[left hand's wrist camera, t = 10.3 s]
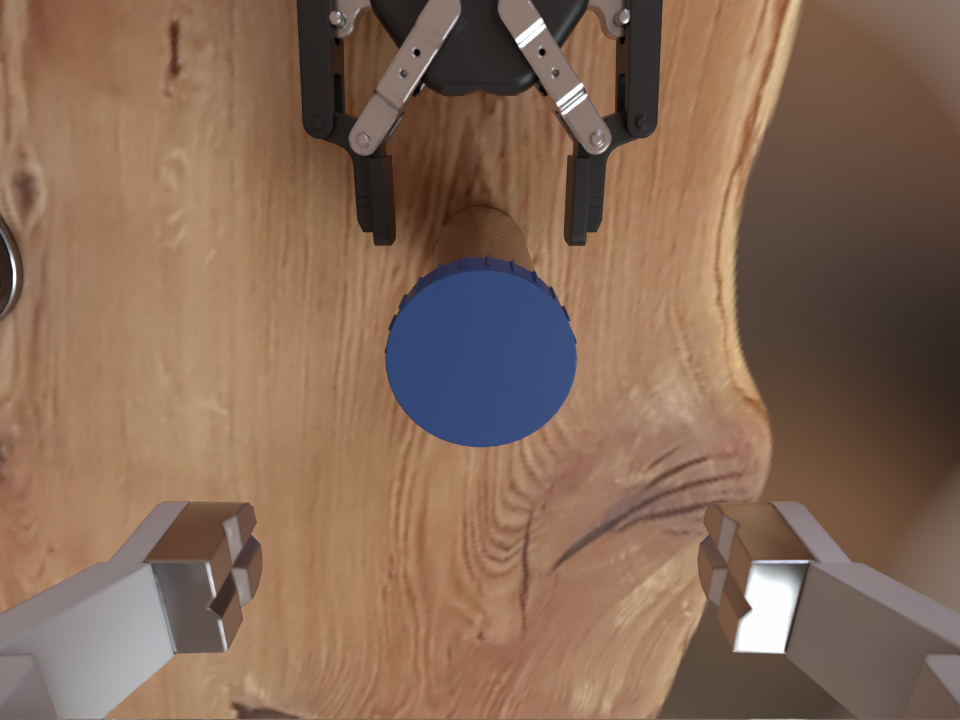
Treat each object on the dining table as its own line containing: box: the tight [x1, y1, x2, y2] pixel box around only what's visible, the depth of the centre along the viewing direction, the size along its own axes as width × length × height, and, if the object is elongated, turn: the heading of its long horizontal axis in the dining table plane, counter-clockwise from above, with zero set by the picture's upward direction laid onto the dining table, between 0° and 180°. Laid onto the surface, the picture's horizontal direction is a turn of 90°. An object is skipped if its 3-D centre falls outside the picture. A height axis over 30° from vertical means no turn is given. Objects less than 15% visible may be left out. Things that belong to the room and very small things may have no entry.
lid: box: [385, 255, 577, 447], centre depth 19 cm, size 6×6×2 cm
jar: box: [425, 206, 535, 276], centre depth 26 cm, size 5×5×16 cm
